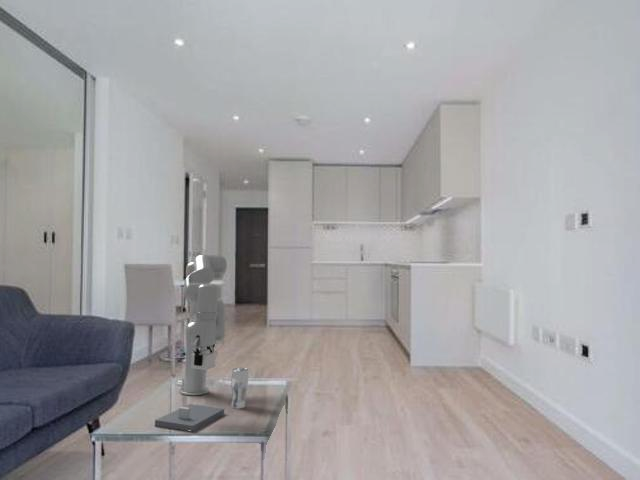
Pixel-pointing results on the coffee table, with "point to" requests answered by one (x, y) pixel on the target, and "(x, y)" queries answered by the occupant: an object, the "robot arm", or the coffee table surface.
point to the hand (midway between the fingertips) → (203, 363)
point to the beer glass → (239, 387)
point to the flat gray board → (189, 417)
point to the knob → (205, 360)
